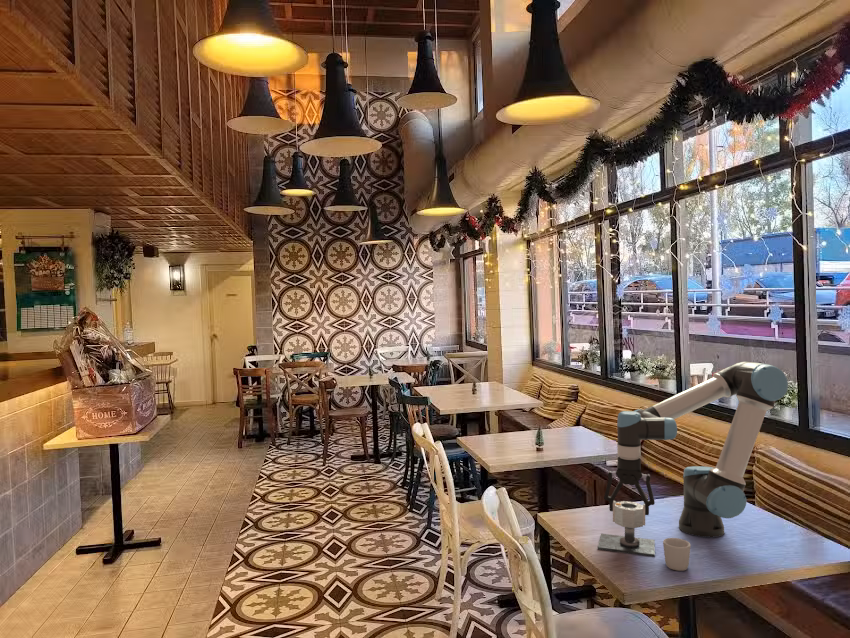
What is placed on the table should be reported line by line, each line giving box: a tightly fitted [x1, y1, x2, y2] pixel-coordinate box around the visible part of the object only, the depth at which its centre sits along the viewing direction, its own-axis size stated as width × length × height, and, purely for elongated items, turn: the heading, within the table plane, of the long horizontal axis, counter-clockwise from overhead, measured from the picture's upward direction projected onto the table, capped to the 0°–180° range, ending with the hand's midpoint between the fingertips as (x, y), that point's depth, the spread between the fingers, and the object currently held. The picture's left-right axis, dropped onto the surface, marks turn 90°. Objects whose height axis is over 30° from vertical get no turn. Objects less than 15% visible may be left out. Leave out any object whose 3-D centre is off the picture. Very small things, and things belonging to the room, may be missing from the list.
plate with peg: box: [597, 527, 656, 558], centre depth 204 cm, size 18×13×8 cm
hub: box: [614, 500, 644, 529], centre depth 204 cm, size 9×9×6 cm
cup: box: [662, 537, 692, 572], centre depth 188 cm, size 11×8×8 cm
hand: (629, 522), depth 204 cm, fingers closed on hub, 9 cm apart
